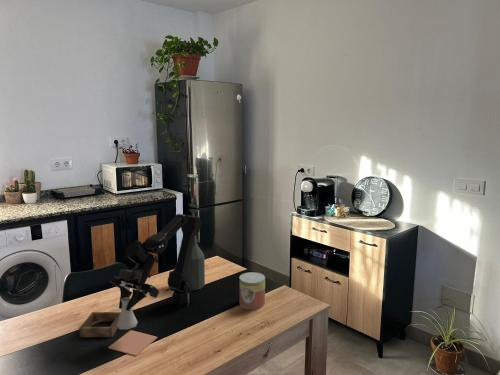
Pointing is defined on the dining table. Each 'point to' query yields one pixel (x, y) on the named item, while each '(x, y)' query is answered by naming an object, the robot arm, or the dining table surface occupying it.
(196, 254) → the bottle
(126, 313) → the flask
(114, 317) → the walnut box
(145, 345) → the terracotta mat
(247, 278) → the canned food
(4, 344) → the dining table surface
